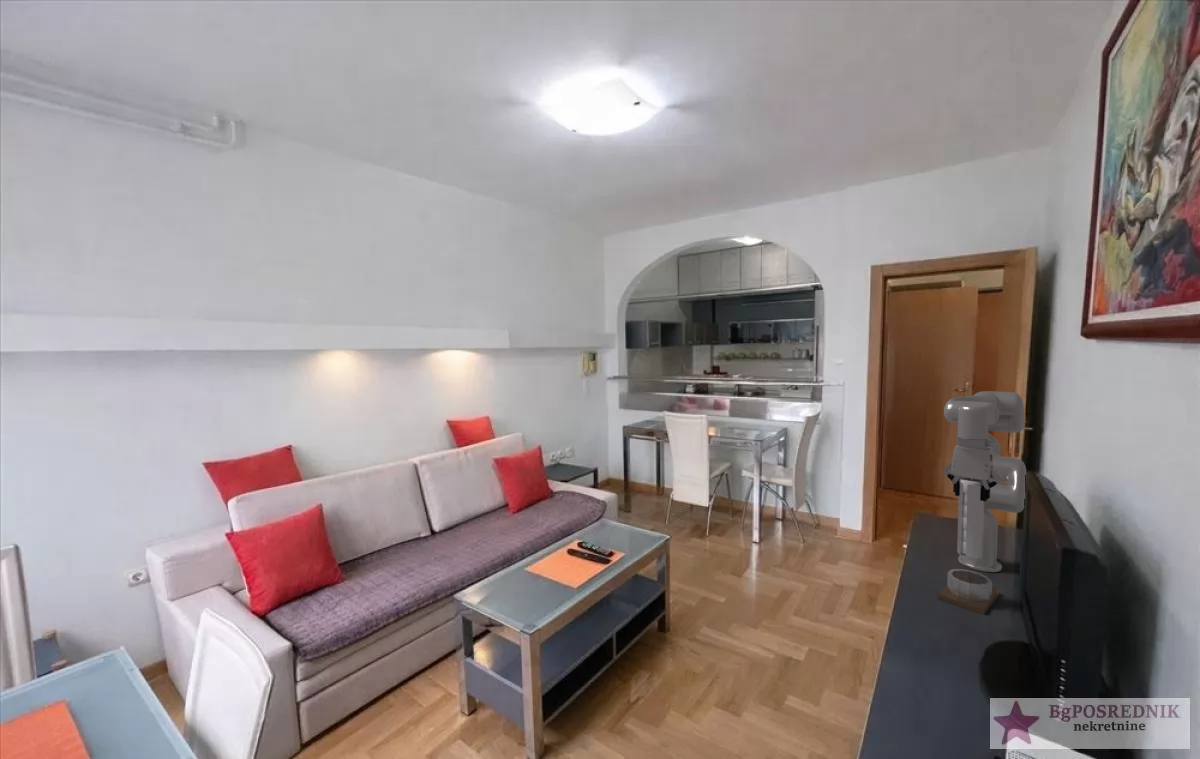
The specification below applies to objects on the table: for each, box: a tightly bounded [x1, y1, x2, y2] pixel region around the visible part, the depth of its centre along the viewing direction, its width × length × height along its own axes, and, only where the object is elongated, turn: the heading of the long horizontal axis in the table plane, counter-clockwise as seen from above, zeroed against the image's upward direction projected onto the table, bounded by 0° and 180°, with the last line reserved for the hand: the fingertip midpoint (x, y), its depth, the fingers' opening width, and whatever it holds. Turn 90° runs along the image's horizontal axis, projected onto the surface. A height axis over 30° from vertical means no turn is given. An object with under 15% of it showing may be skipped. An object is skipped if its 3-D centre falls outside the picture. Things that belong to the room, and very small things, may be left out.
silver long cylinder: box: [956, 477, 984, 559], centre depth 150 cm, size 6×6×25 cm
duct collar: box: [937, 568, 1001, 615], centre depth 152 cm, size 18×12×6 cm, turn 128°
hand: (971, 497), depth 150 cm, fingers closed on silver long cylinder, 6 cm apart
